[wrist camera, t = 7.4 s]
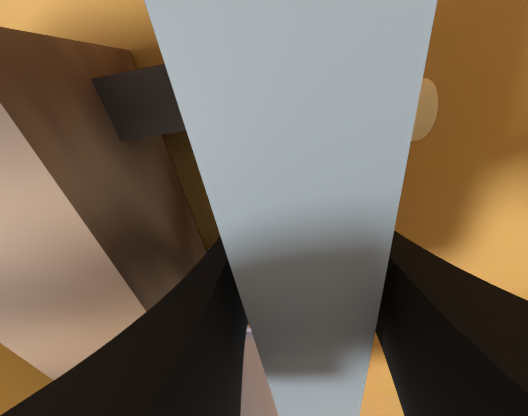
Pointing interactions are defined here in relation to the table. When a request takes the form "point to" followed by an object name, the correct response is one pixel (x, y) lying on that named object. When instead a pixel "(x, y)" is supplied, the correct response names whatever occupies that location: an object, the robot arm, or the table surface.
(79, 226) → the cabinet
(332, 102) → the door panel
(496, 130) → the table surface
